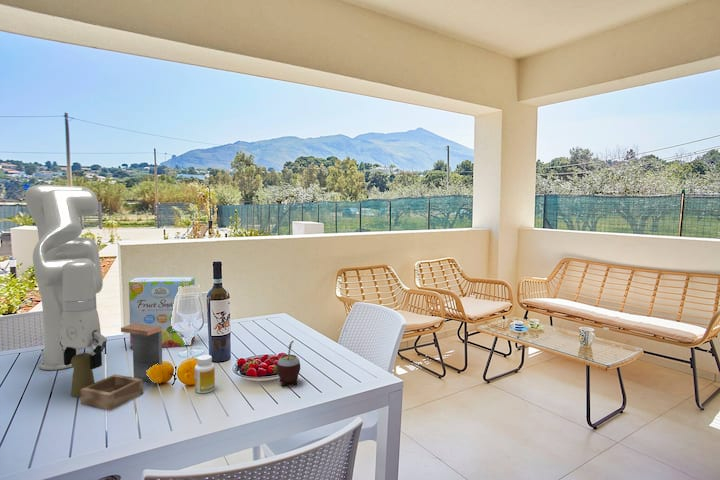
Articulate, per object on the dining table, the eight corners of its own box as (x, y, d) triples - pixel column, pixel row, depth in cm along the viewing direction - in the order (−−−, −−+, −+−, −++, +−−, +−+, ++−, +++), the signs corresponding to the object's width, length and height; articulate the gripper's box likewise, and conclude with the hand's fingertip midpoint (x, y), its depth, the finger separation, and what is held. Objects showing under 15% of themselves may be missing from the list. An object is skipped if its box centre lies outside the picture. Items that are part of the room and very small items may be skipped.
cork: (83, 398, 111) (81, 359, 110) (64, 395, 112) (63, 357, 111) (101, 388, 117) (100, 351, 116) (83, 386, 118) (82, 349, 117)
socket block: (80, 403, 108) (80, 389, 107) (115, 387, 117) (114, 374, 117) (110, 410, 104) (109, 395, 104) (143, 393, 114) (142, 379, 114)
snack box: (129, 350, 147) (126, 281, 145) (136, 342, 156) (134, 277, 154) (192, 346, 152) (191, 279, 150) (196, 339, 161) (195, 275, 159)
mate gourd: (286, 376, 127) (286, 330, 126) (306, 381, 124) (307, 333, 122) (271, 385, 120) (270, 336, 119) (292, 391, 117) (292, 341, 116)
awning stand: (122, 384, 120) (120, 327, 118) (137, 377, 124) (135, 323, 123) (149, 389, 117) (147, 331, 115) (162, 382, 121) (161, 326, 120)
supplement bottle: (218, 387, 119) (218, 355, 118) (206, 395, 114) (205, 361, 113) (203, 384, 121) (203, 352, 120) (190, 392, 115) (190, 359, 115)
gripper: (44, 306, 111) (47, 367, 112) (90, 310, 106) (93, 374, 107) (71, 301, 118) (73, 358, 119) (115, 304, 113) (118, 364, 114)
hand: (83, 365), depth 113 cm, fingers open, 9 cm apart
